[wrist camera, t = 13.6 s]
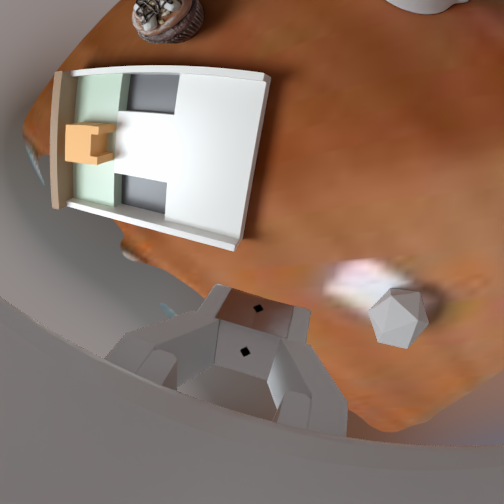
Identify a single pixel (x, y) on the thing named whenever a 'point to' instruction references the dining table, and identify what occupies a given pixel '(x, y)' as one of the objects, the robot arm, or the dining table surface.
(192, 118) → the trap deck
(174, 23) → the cupcake
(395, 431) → the dining table surface
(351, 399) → the dining table surface
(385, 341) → the die
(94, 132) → the block
